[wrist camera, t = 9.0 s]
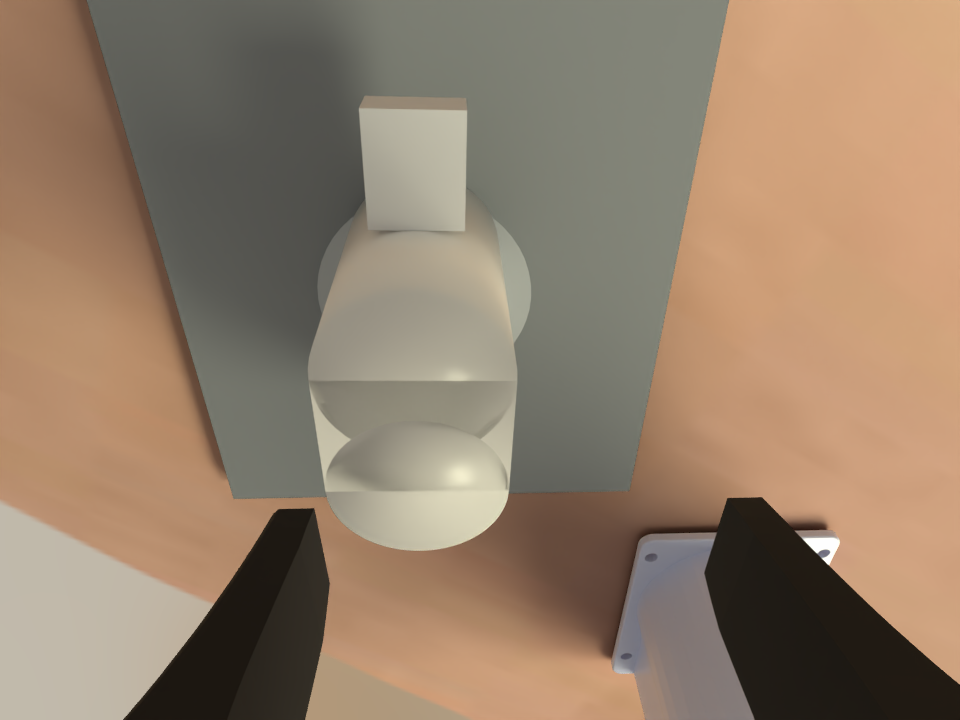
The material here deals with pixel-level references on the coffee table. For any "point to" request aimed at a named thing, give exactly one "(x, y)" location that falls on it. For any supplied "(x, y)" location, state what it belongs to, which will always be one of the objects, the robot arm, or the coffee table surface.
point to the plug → (416, 341)
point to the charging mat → (489, 175)
